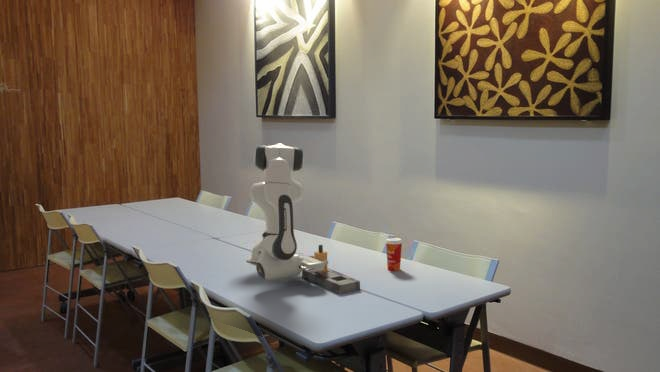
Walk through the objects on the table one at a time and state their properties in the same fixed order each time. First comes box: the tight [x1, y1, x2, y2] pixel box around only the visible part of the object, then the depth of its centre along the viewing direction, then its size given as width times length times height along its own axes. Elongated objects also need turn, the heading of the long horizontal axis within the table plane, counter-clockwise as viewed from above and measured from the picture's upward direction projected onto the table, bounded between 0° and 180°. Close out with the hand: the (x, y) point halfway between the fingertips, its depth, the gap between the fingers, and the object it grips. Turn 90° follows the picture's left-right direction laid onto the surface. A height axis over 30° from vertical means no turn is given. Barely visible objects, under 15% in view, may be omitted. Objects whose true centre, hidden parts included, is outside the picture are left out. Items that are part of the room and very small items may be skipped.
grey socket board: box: [301, 267, 361, 295], centre depth 250 cm, size 30×10×4 cm, turn 33°
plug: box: [314, 244, 328, 273], centre depth 255 cm, size 4×4×15 cm
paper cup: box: [385, 237, 403, 272], centre depth 268 cm, size 8×8×14 cm
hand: (321, 259), depth 255 cm, fingers open, 8 cm apart
